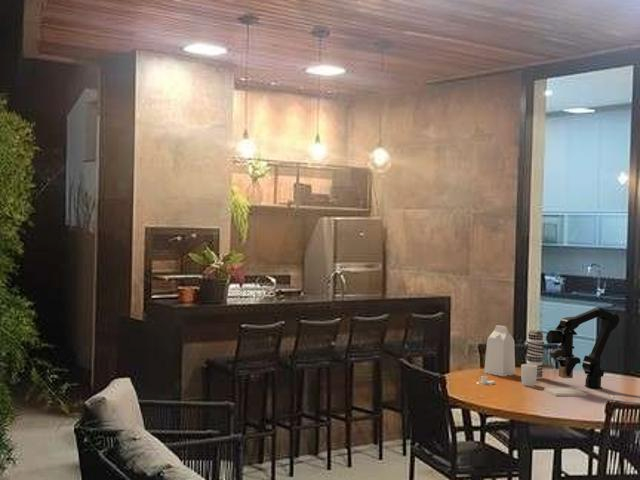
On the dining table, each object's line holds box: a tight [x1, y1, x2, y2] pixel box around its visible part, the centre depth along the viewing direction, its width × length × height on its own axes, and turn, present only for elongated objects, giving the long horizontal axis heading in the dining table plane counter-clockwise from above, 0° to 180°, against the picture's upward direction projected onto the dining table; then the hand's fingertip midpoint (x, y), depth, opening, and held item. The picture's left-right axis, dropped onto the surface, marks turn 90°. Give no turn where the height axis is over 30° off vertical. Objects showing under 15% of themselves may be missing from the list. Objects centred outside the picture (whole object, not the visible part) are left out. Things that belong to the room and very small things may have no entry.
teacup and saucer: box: [476, 375, 495, 386], centre depth 398 cm, size 9×8×4 cm
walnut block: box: [558, 365, 574, 379], centre depth 393 cm, size 5×5×5 cm
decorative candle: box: [526, 329, 545, 380], centre depth 420 cm, size 9×9×25 cm
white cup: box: [520, 363, 537, 387], centre depth 398 cm, size 8×8×10 cm
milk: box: [483, 324, 516, 377], centre depth 428 cm, size 12×12×26 cm
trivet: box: [544, 387, 588, 397], centre depth 380 cm, size 16×12×1 cm
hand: (565, 374), depth 393 cm, fingers closed on walnut block, 5 cm apart
